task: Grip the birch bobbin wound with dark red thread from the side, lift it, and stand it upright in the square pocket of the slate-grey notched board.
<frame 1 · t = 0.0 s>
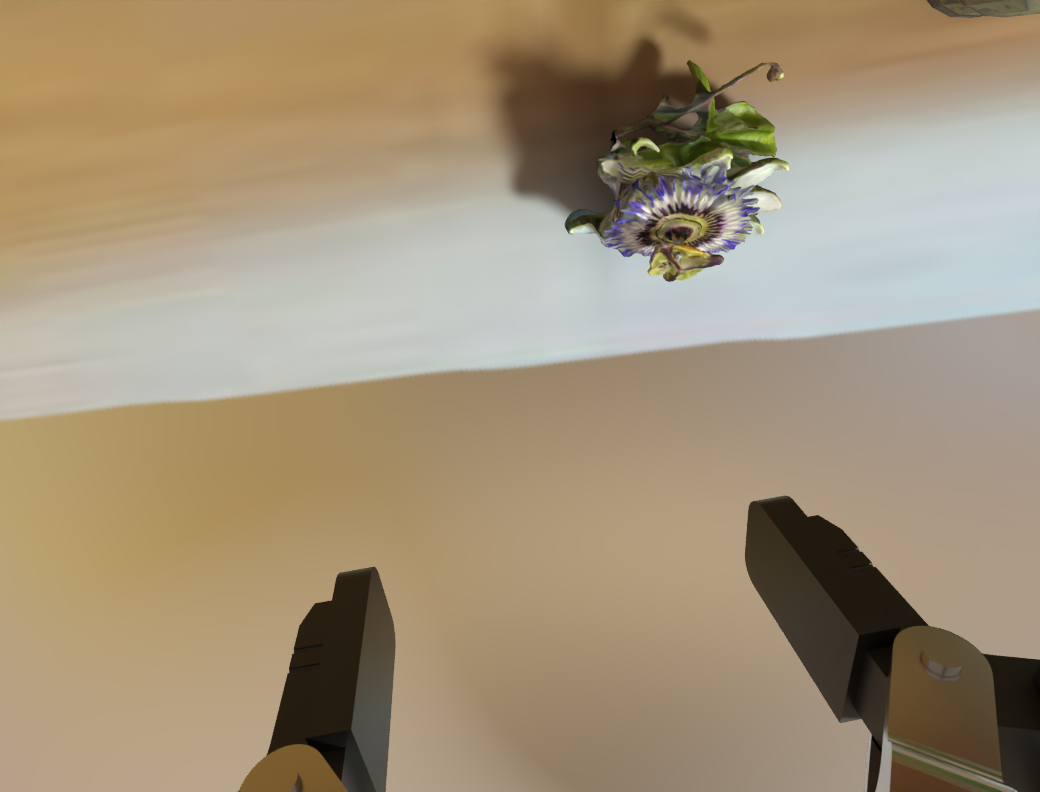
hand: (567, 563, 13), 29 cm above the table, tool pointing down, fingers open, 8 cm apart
passion flower: (658, 163, 38), on the table
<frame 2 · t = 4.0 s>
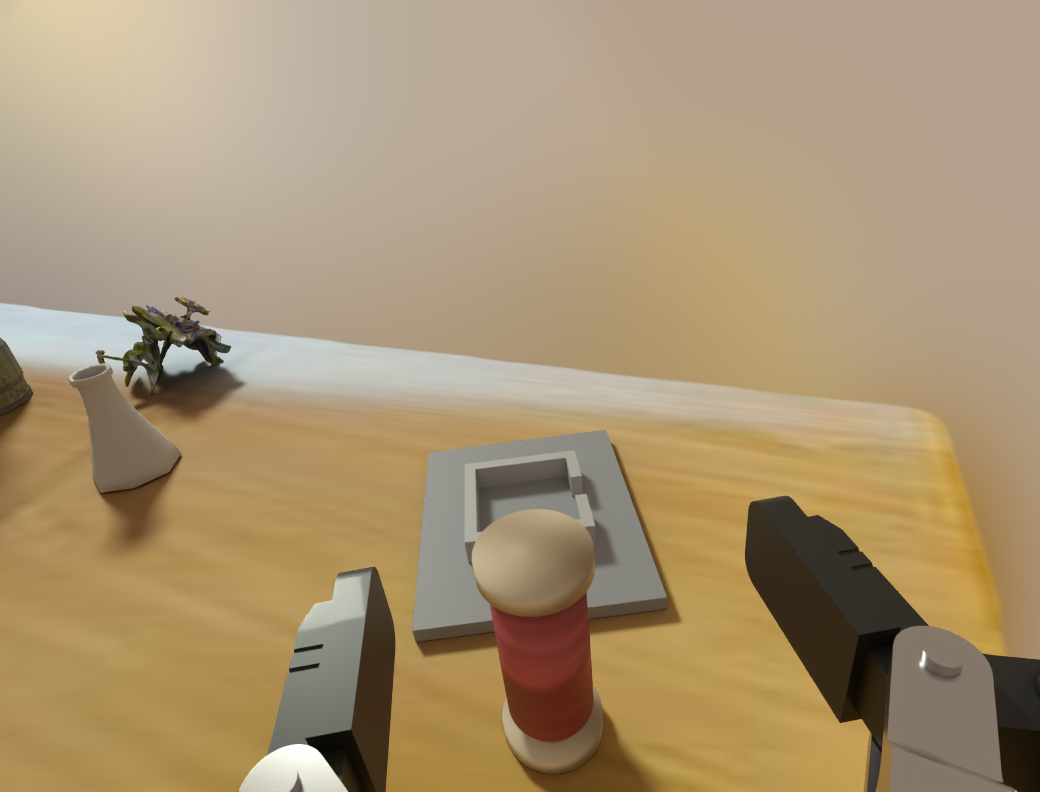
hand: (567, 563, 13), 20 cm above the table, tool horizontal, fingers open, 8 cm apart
board: (528, 522, 44), on the table
flask: (140, 470, 55), on the table
bobbin: (553, 722, 31), on the table
passion flower: (181, 380, 71), on the table
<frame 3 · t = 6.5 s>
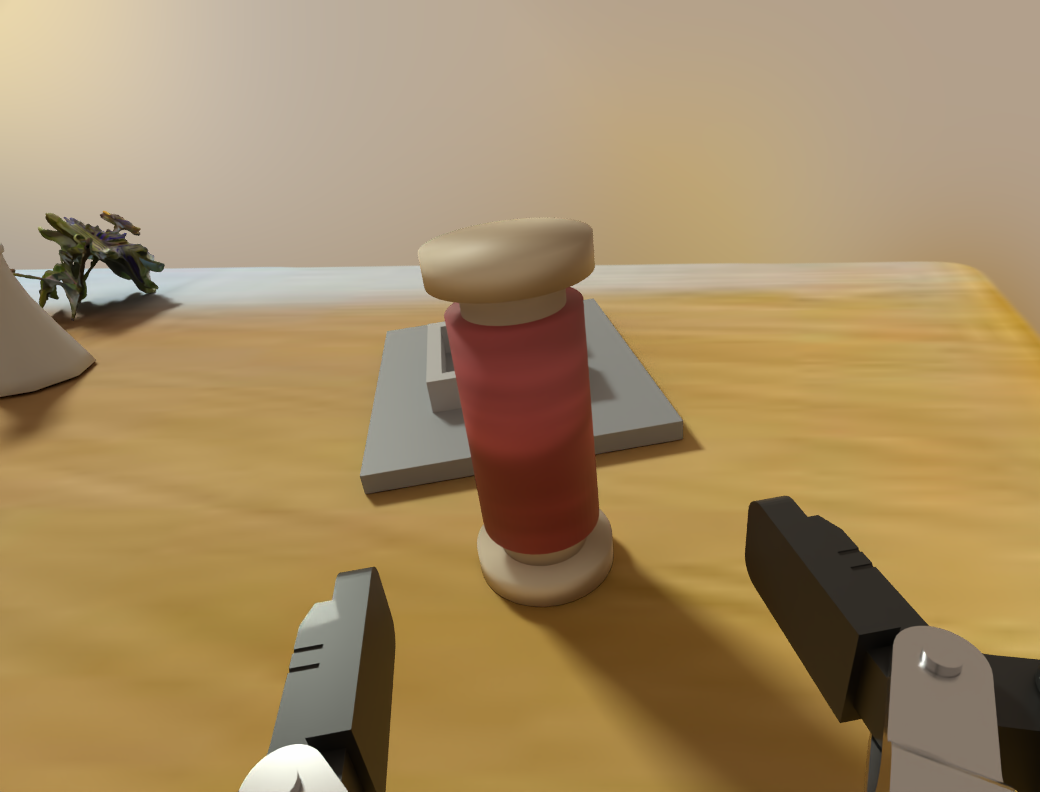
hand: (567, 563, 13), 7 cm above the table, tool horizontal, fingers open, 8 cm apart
board: (506, 381, 36), on the table
flask: (45, 379, 47), on the table
bobbin: (546, 555, 23), on the table
passion flower: (109, 308, 63), on the table
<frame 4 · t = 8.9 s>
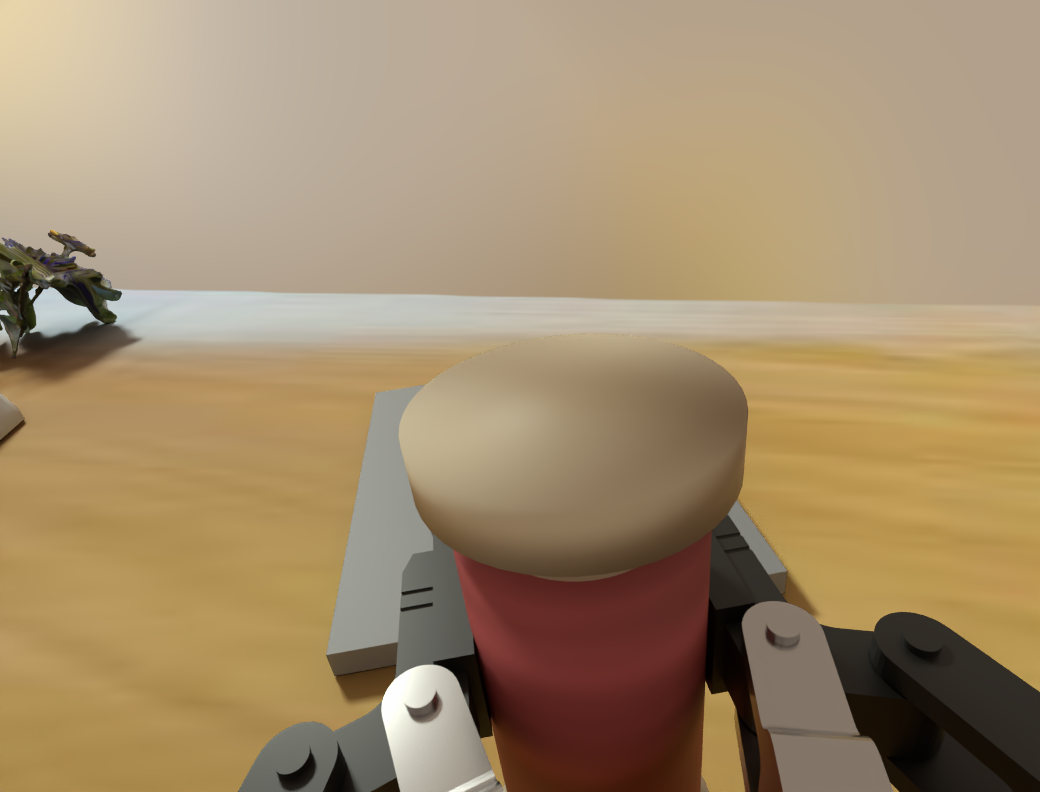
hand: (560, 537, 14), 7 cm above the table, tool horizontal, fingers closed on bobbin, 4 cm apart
board: (527, 475, 28), on the table
passion flower: (59, 342, 54), on the table
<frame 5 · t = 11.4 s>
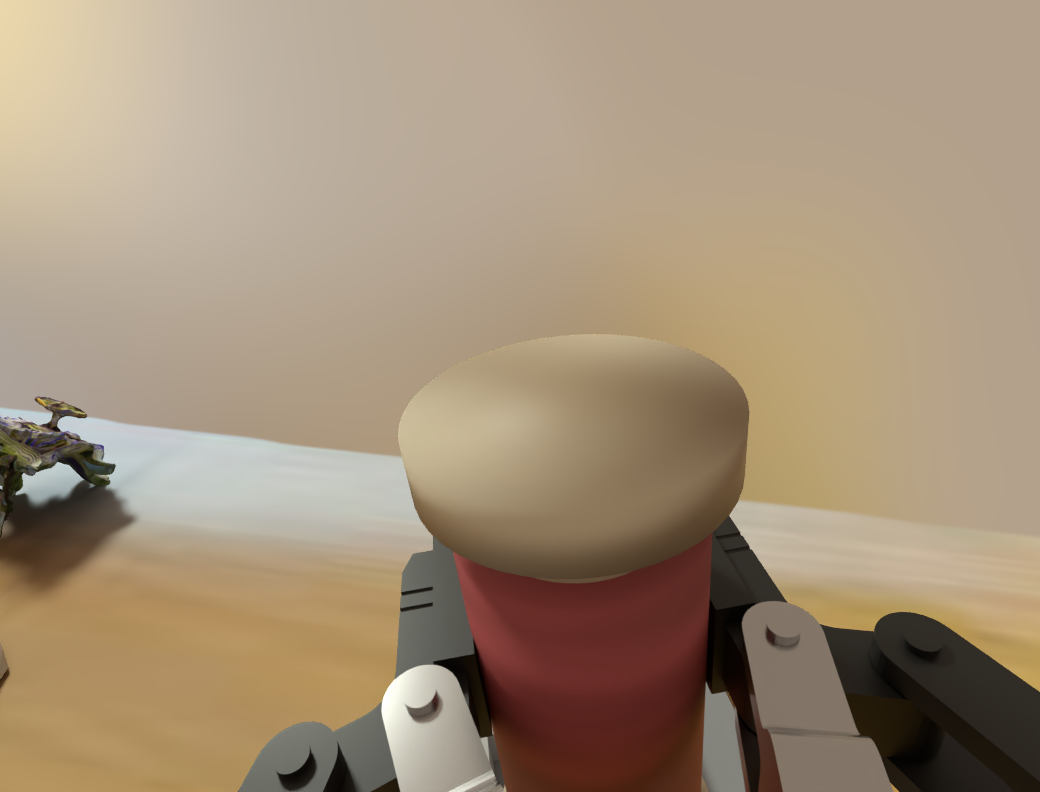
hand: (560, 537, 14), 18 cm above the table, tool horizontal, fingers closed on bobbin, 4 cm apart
passion flower: (48, 513, 50), on the table
when the fingers open (9 cm above the table, at t = 13.9 s): bobbin stays where it is, resting on board.
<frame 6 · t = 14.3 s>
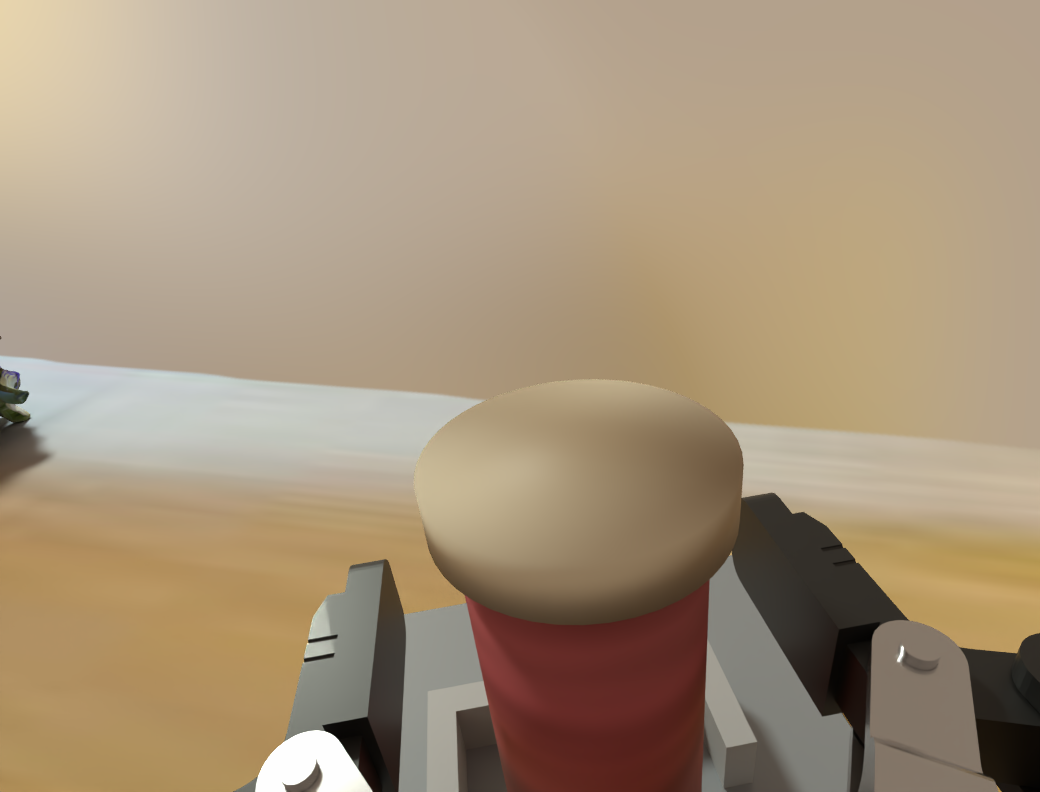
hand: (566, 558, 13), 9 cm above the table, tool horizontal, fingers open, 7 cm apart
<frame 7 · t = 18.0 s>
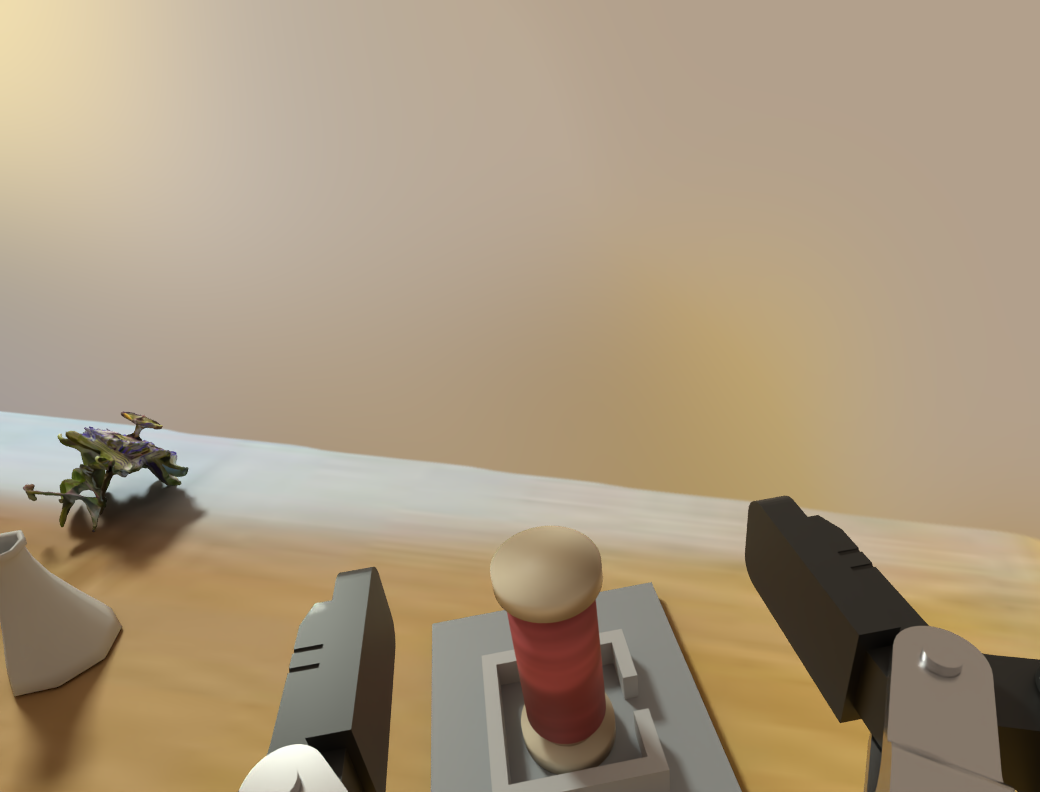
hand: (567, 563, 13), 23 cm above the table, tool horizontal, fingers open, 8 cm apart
board: (570, 739, 33), on the table
flask: (69, 653, 44), on the table
bobbin: (569, 728, 33), point 1 cm above the table, touching board
passion flower: (131, 508, 60), on the table
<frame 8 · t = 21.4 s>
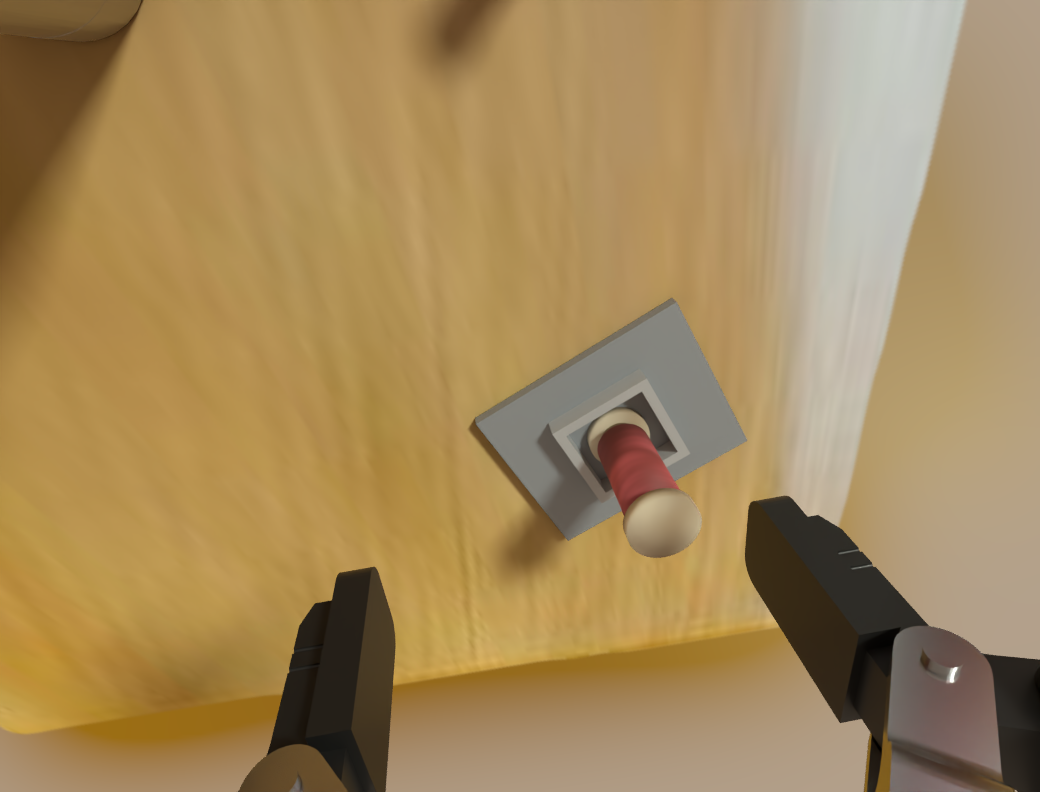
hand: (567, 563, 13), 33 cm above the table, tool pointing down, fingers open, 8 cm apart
board: (614, 426, 51), on the table
bobbin: (616, 433, 50), point 1 cm above the table, touching board
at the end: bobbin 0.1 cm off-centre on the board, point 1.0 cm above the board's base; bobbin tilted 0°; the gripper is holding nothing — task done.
